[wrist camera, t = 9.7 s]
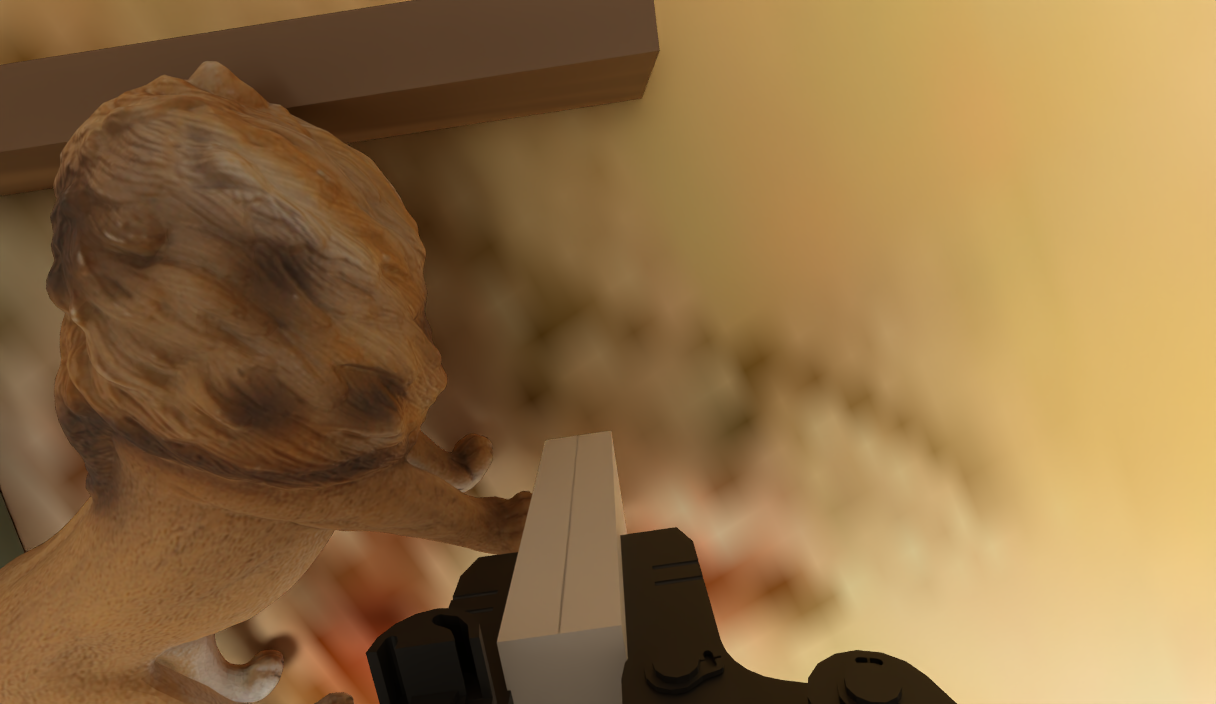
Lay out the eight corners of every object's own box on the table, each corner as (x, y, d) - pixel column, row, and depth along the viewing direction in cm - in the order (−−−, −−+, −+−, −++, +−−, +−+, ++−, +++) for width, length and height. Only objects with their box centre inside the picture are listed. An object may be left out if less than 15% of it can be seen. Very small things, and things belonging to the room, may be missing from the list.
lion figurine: (556, 292, 16) (177, 7, 10) (672, 391, 12) (142, 2, 6) (220, 725, 16) (-312, 694, 11) (217, 962, 12) (-651, 1120, 7)
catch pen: (-187, 165, 13) (-515, 145, 9) (633, 38, 13) (649, -37, 9) (111, 877, 18) (-26, 1065, 14) (728, 796, 17) (766, 966, 13)
